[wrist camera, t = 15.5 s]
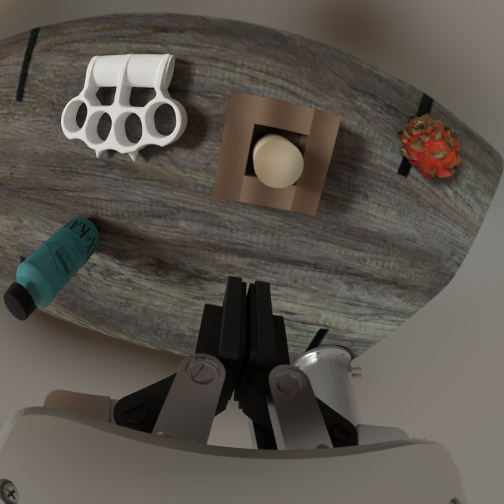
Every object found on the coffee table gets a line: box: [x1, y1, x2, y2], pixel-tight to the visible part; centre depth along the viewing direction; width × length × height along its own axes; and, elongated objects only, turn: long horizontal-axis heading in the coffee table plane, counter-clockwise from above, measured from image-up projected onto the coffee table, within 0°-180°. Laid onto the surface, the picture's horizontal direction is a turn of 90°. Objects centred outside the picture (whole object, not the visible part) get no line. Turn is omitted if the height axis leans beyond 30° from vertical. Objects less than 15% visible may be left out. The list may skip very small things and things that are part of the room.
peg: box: [252, 132, 304, 188], centre depth 27 cm, size 5×5×10 cm
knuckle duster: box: [61, 54, 187, 162], centre depth 28 cm, size 3×18×15 cm
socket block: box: [213, 92, 341, 216], centre depth 30 cm, size 12×12×6 cm
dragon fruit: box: [397, 113, 462, 179], centre depth 29 cm, size 8×8×12 cm
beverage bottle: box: [4, 217, 99, 320], centre depth 29 cm, size 6×7×20 cm
